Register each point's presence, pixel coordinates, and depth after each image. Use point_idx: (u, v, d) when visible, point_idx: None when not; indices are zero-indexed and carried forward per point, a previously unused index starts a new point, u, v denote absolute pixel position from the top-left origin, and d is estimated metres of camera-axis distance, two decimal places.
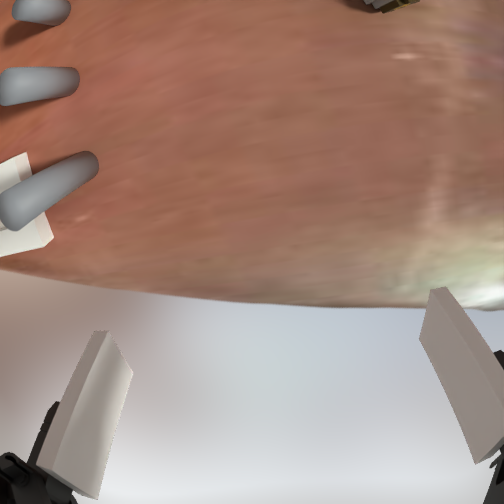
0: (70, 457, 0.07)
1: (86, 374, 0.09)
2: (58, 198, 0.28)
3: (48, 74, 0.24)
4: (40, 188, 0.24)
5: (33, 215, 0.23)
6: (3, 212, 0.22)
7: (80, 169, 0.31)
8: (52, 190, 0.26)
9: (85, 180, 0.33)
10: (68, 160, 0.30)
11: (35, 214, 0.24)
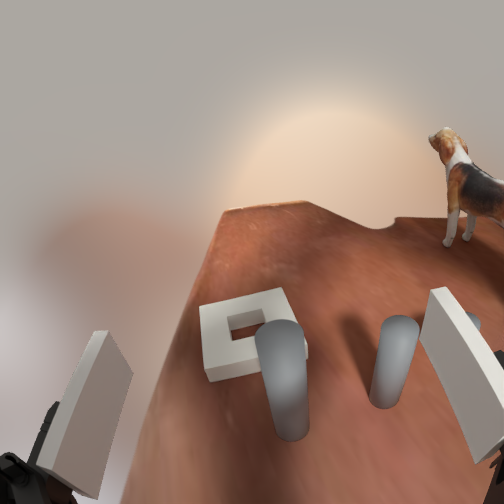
0: (70, 457, 0.07)
1: (86, 374, 0.09)
2: (274, 396, 0.26)
3: (404, 373, 0.28)
4: (294, 376, 0.24)
5: (268, 364, 0.24)
6: (277, 326, 0.25)
7: (296, 422, 0.28)
8: (287, 390, 0.25)
9: (280, 427, 0.29)
10: (307, 408, 0.29)
11: (268, 367, 0.24)
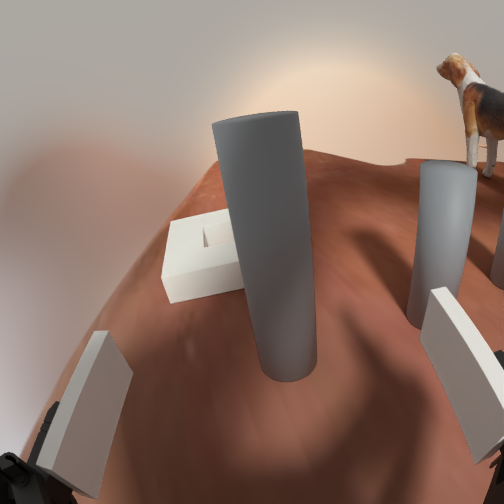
0: (70, 457, 0.07)
1: (86, 374, 0.09)
2: (250, 256, 0.15)
3: (463, 251, 0.17)
4: (286, 193, 0.13)
5: (234, 158, 0.13)
6: (254, 115, 0.14)
7: (294, 331, 0.17)
8: (273, 232, 0.14)
9: (266, 347, 0.18)
10: (314, 307, 0.18)
11: (234, 167, 0.13)
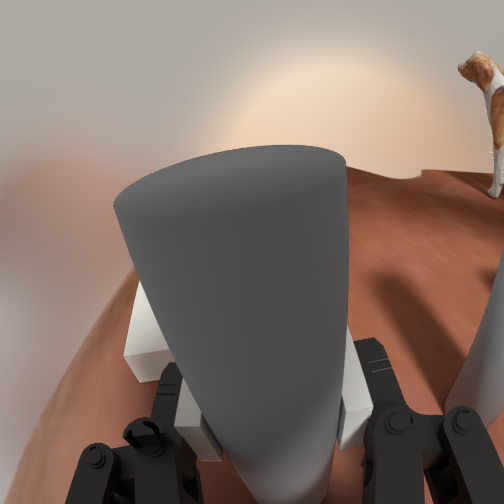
0: None
1: None
2: (229, 445, 0.07)
3: None
4: (304, 378, 0.05)
5: (167, 309, 0.05)
6: (229, 157, 0.06)
7: (300, 496, 0.09)
8: (270, 433, 0.06)
9: (260, 499, 0.10)
10: (332, 461, 0.10)
11: (171, 326, 0.05)
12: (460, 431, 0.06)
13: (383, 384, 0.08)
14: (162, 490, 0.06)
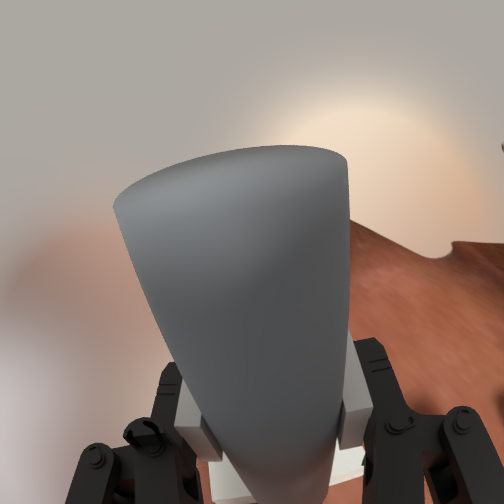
0: None
1: None
2: (229, 447, 0.07)
3: None
4: (305, 380, 0.05)
5: (167, 311, 0.05)
6: (230, 157, 0.06)
7: (300, 497, 0.09)
8: (271, 435, 0.06)
9: (260, 500, 0.10)
10: None
11: (171, 328, 0.05)
12: (459, 431, 0.06)
13: (382, 384, 0.08)
14: (162, 490, 0.06)
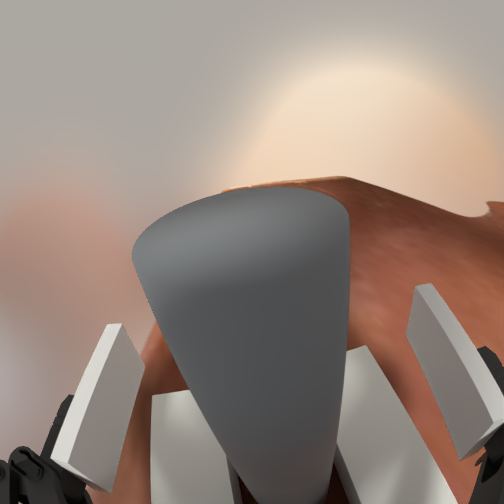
0: (85, 450, 0.07)
1: (101, 366, 0.10)
2: (237, 460, 0.07)
3: None
4: (307, 407, 0.06)
5: (185, 354, 0.05)
6: (238, 202, 0.07)
7: (301, 502, 0.09)
8: (276, 451, 0.06)
9: None
10: (331, 470, 0.10)
11: (189, 366, 0.05)
12: None
13: None
14: None
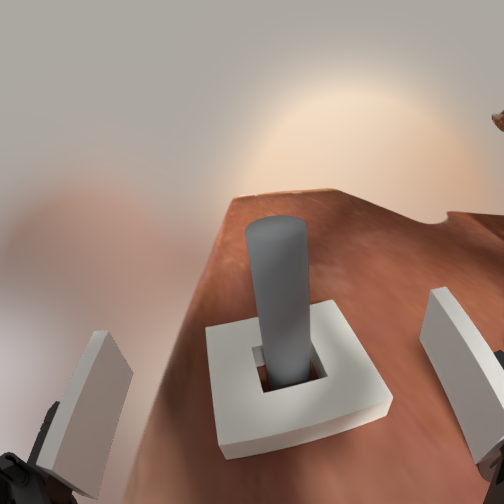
0: (70, 457, 0.07)
1: (86, 374, 0.09)
2: (268, 320, 0.22)
3: None
4: (295, 284, 0.20)
5: (261, 262, 0.20)
6: (274, 220, 0.21)
7: (295, 365, 0.24)
8: (285, 308, 0.21)
9: (275, 375, 0.25)
10: (309, 348, 0.25)
11: (261, 267, 0.20)
12: None
13: None
14: None
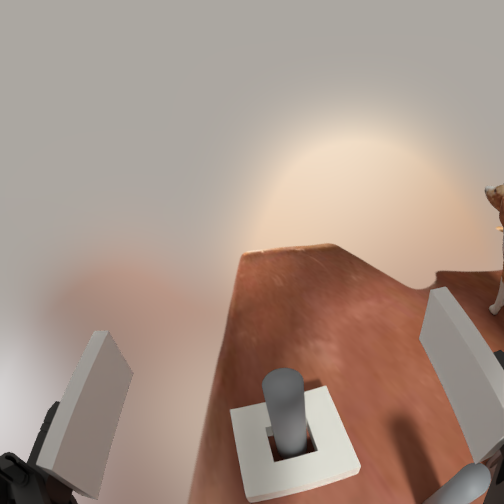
0: (70, 457, 0.07)
1: (86, 374, 0.09)
2: (277, 428, 0.30)
3: None
4: (295, 414, 0.28)
5: (273, 406, 0.27)
6: (281, 374, 0.29)
7: (295, 446, 0.32)
8: (288, 424, 0.29)
9: (282, 449, 0.33)
10: (305, 435, 0.32)
11: (273, 408, 0.28)
12: None
13: None
14: None
